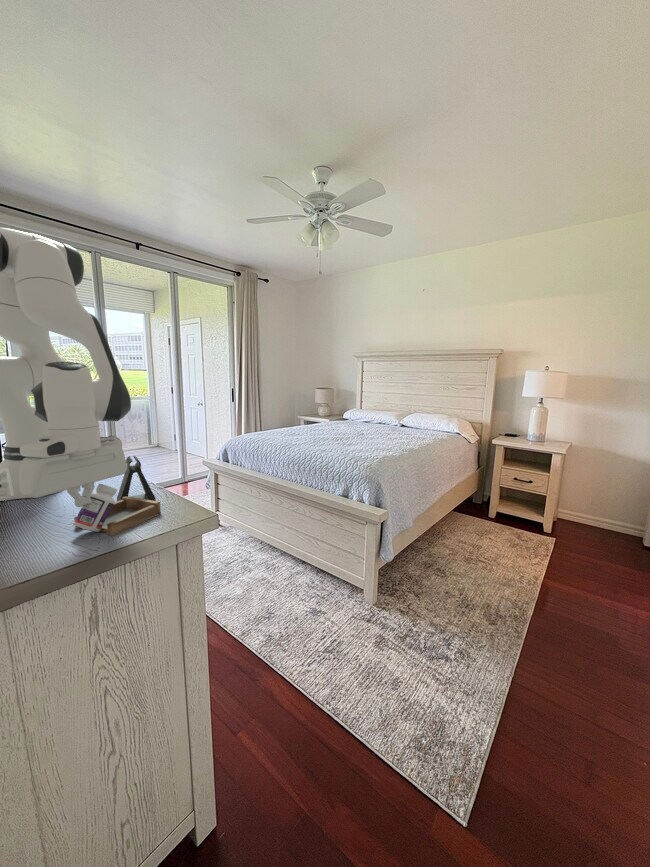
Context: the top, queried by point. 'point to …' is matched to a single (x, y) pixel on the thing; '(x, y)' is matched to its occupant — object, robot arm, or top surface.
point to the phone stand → (128, 477)
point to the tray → (144, 512)
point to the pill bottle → (96, 509)
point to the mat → (118, 515)
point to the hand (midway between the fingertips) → (83, 505)
